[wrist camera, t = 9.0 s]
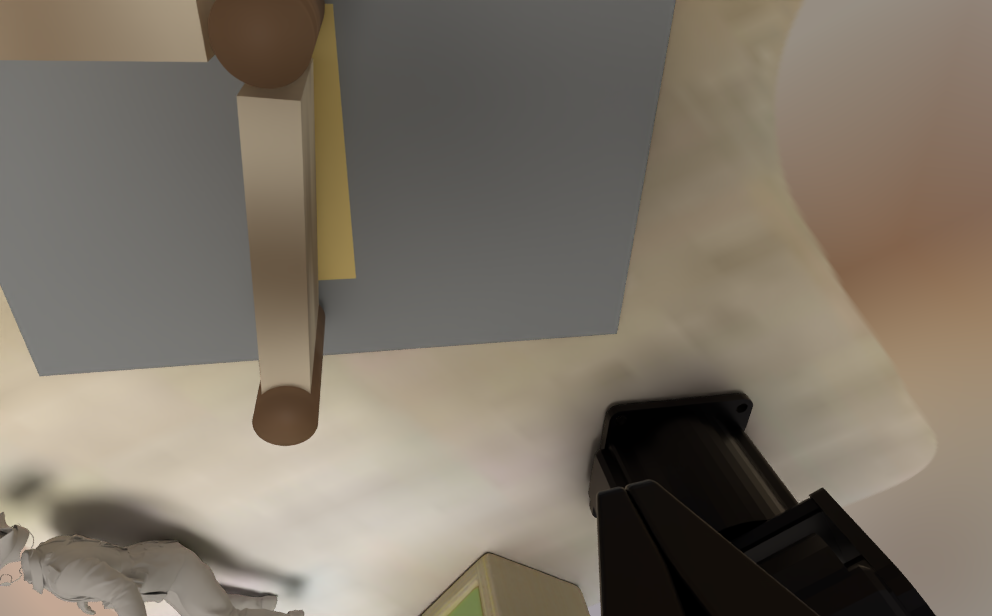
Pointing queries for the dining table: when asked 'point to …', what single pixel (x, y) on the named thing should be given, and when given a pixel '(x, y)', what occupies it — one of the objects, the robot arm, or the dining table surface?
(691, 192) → the dining table surface
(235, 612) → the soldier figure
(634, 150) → the card
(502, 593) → the toy refrigerator
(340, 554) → the dining table surface
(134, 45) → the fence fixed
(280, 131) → the fence gate
